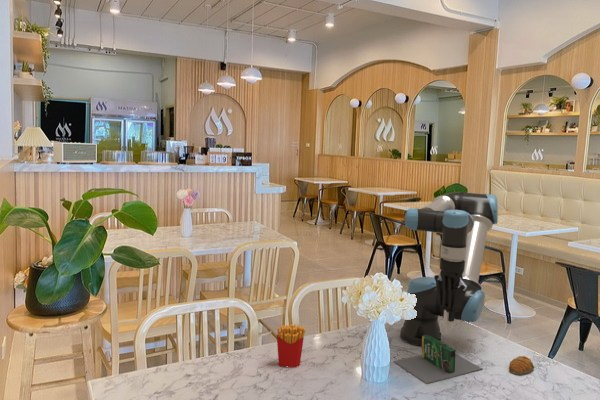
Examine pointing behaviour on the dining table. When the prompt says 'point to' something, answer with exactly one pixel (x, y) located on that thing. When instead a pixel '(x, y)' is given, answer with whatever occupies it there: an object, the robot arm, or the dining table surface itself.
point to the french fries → (290, 345)
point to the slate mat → (435, 368)
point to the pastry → (521, 365)
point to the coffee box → (438, 353)
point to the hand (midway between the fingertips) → (447, 329)
